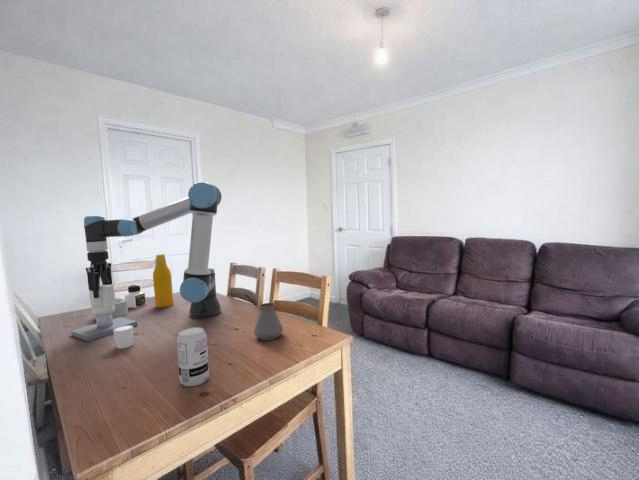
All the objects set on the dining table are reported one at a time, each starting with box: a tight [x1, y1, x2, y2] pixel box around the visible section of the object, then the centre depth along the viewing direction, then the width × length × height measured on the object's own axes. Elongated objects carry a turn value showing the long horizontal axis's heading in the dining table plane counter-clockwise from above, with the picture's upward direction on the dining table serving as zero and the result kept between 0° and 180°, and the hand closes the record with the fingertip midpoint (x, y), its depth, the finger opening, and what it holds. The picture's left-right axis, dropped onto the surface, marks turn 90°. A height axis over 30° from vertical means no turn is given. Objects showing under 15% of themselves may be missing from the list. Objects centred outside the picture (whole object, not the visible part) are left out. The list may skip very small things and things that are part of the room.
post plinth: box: [70, 313, 138, 342], centre depth 141 cm, size 15×20×8 cm
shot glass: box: [113, 325, 134, 350], centre depth 122 cm, size 7×7×7 cm
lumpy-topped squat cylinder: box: [112, 297, 129, 319], centre depth 162 cm, size 10×13×9 cm
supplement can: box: [175, 326, 210, 387], centre depth 93 cm, size 8×8×15 cm
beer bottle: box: [152, 253, 174, 309], centre depth 177 cm, size 9×9×29 cm
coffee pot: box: [242, 294, 284, 341], centre depth 128 cm, size 21×12×15 cm, turn 46°
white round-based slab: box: [88, 284, 115, 316], centre depth 140 cm, size 12×8×12 cm
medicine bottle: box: [124, 284, 146, 309], centre depth 179 cm, size 7×7×12 cm
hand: (102, 303), depth 140 cm, fingers closed on white round-based slab, 5 cm apart
